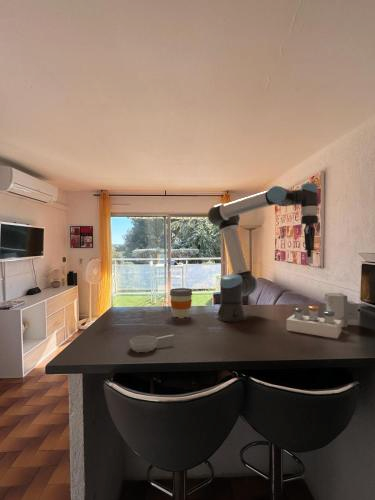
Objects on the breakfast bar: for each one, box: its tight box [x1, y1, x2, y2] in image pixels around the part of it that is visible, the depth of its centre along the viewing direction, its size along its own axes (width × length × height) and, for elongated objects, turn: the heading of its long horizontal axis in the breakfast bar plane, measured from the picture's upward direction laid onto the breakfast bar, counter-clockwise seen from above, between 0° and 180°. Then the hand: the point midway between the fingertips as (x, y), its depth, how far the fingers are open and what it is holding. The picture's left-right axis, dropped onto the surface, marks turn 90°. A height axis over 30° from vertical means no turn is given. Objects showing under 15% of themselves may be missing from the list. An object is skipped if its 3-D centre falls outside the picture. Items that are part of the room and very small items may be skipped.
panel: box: [286, 313, 342, 339], centre depth 128 cm, size 21×12×5 cm, turn 54°
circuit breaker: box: [324, 292, 361, 328], centre depth 137 cm, size 8×14×15 cm, turn 78°
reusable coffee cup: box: [169, 287, 193, 319], centre depth 158 cm, size 13×13×15 cm
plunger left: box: [293, 307, 305, 320], centre depth 132 cm, size 4×4×9 cm
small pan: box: [129, 333, 175, 353], centre depth 110 cm, size 11×18×4 cm, turn 114°
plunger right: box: [323, 310, 335, 324], centre depth 125 cm, size 4×4×9 cm
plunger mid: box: [308, 305, 320, 322], centre depth 128 cm, size 4×4×9 cm
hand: (309, 263), depth 137 cm, fingers closed
